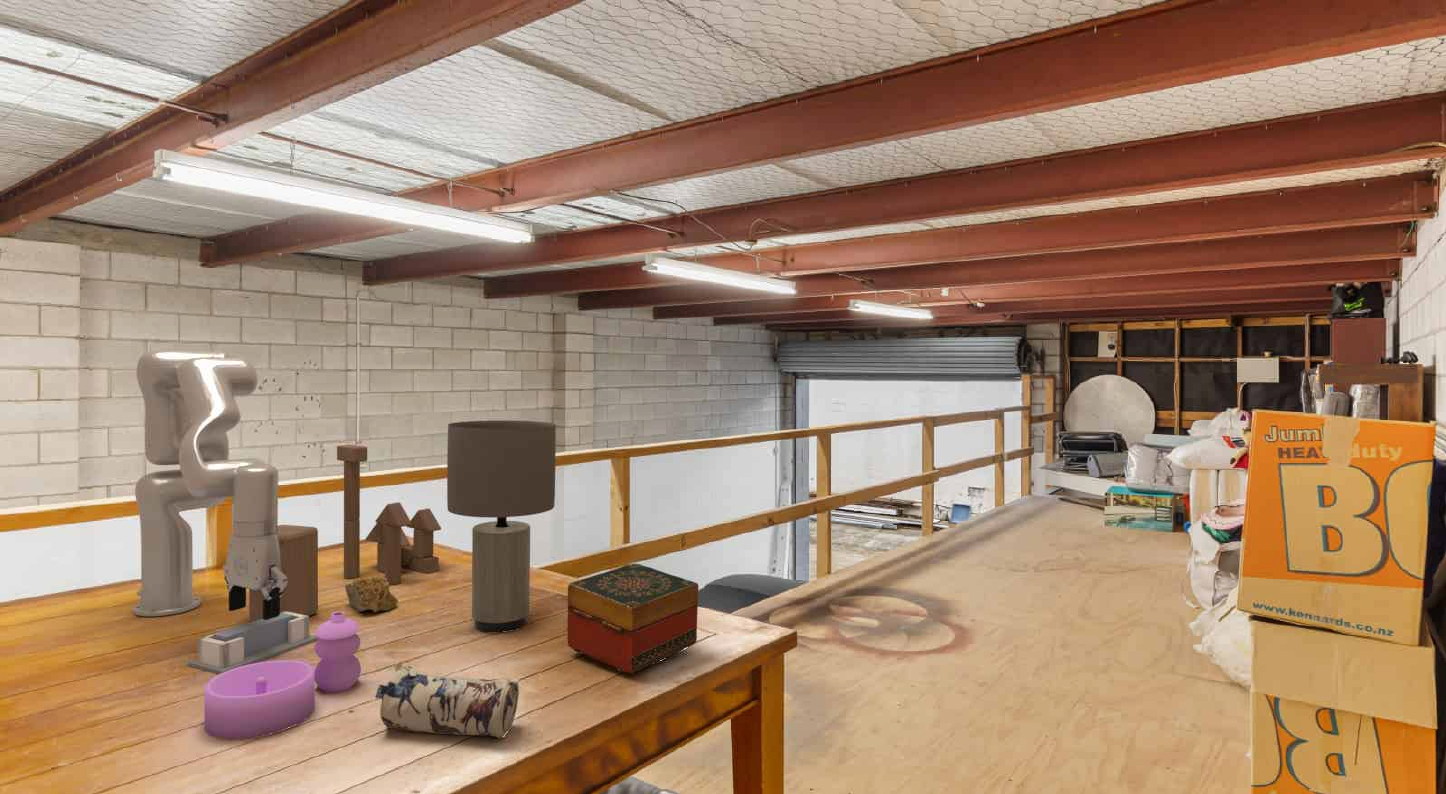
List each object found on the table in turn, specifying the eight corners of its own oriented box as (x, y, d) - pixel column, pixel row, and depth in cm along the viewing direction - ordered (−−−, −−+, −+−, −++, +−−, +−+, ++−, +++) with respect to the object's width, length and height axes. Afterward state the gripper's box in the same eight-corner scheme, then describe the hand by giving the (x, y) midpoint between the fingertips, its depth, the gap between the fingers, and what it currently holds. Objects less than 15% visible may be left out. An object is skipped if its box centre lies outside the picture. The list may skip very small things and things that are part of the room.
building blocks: (389, 591, 193) (389, 452, 191) (330, 575, 206) (330, 444, 204) (452, 574, 209) (453, 446, 208) (394, 560, 222) (394, 439, 221)
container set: (241, 748, 115) (241, 661, 114) (184, 724, 122) (183, 642, 121) (384, 688, 137) (385, 614, 136) (329, 670, 144) (329, 601, 143)
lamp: (438, 645, 157) (439, 428, 155) (453, 610, 179) (455, 420, 177) (552, 639, 162) (555, 429, 160) (553, 606, 184) (556, 420, 182)
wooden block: (286, 627, 165) (286, 535, 165) (247, 623, 167) (246, 532, 167) (319, 613, 175) (319, 526, 174) (281, 609, 177) (281, 523, 176)
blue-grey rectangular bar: (226, 663, 144) (225, 636, 144) (213, 659, 146) (213, 633, 145) (293, 639, 157) (293, 615, 157) (281, 636, 158) (281, 612, 158)
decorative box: (641, 634, 169) (635, 559, 169) (710, 653, 153) (704, 570, 153) (562, 662, 155) (555, 581, 154) (629, 687, 139) (621, 596, 139)
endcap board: (187, 665, 144) (187, 639, 144) (284, 632, 163) (284, 608, 162) (223, 674, 140) (223, 647, 140) (318, 639, 159) (318, 615, 159)
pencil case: (371, 737, 119) (372, 675, 119) (402, 712, 127) (402, 654, 127) (505, 750, 116) (506, 686, 115) (528, 724, 124) (528, 665, 124)
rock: (353, 628, 180) (338, 588, 181) (389, 612, 186) (374, 574, 187) (369, 618, 172) (352, 576, 173) (406, 602, 178) (390, 562, 180)
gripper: (206, 525, 151) (205, 611, 152) (268, 538, 144) (266, 627, 145) (243, 518, 157) (242, 600, 159) (303, 530, 151) (302, 615, 152)
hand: (254, 613), depth 152 cm, fingers open, 9 cm apart
